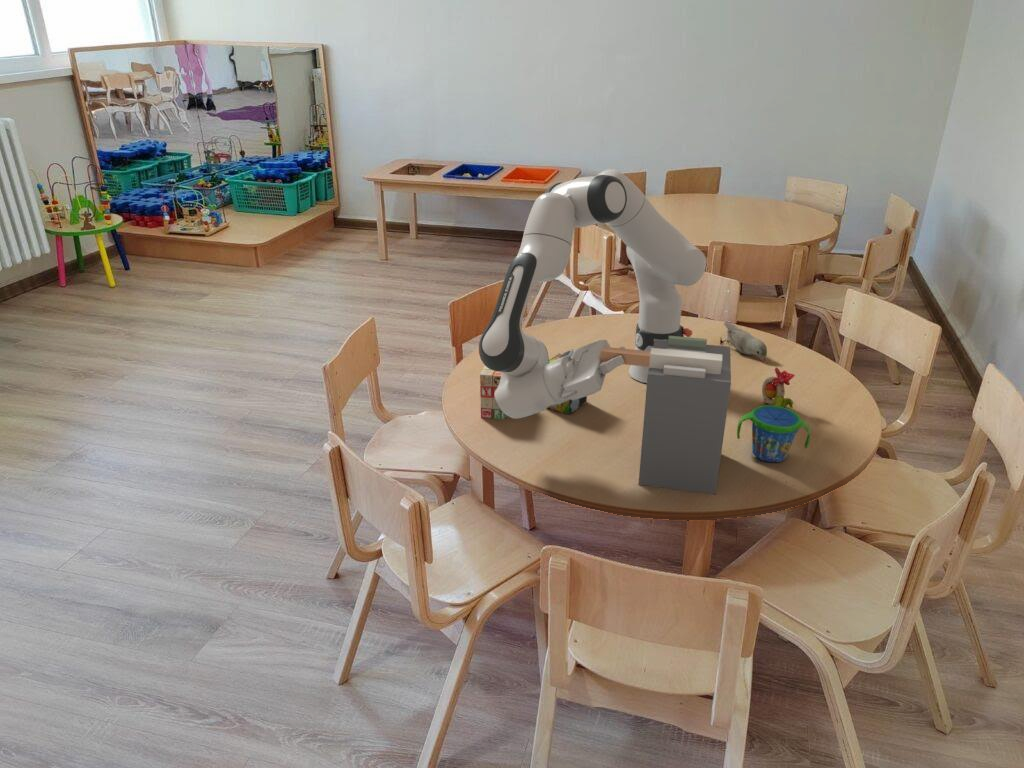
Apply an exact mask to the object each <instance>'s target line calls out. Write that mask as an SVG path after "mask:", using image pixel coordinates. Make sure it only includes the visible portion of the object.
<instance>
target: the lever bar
mask: <svg viewBox="0 0 1024 768" xmlns="http://www.w3.org/2000/svg"><path fill="white" fill-rule="evenodd" d="M619 354H622V355H623V357H624V359H625V361H624V364H623V365H627V366H631V365H636V366H646V367H649V368H658V369H664V365H672V366H682V367H693V368H703V369H706V372H705V373H708V374H719V375H721V367H722V354H712V353H701V352H691V351H680V350H669V349H658V348H651V351H642V350H635V349H631V348H625V349H621V348H620V347H619V348H618V347H611V346H610V347H602V349H601V353H600V360H601V362H607V361H609V360H611V359H612V358H614V356H616V355H619Z"/></svg>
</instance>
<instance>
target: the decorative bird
mask: <svg viewBox="0 0 1024 768" xmlns="http://www.w3.org/2000/svg"><path fill="white" fill-rule="evenodd" d="M723 325H724V326H725V328H726V329H727V332H726V339H724V340H723V339H722V337H720V336H719V337H720V339H719V340H720V341H719V343H720V344H719V346H724V345H725V342H726V345H727V344H728V345H729V344H730V345H731V346H732V347H733V348H734V349H735V350H736V351H738V352H739V353H742V354H745V355H748V356H752V355H755V356H756V357H758V359H759V360H760V361H761V362H762V361H764V362H765V360H766V357H767V353H768V350H767V349H768V348H767V345H766V343H765V342H763V341H762V340H761V339H759V338H756V337H754V336H753V335H752V334H751V333H749V332H748V331H746V330H743V329H742V328H739V327H737V326H736V325H735V324H734V323H731V322H729V321H727V320H726V321H724V323H723Z"/></svg>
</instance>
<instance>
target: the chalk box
mask: <svg viewBox="0 0 1024 768" xmlns="http://www.w3.org/2000/svg"><path fill="white" fill-rule="evenodd" d="M562 354H563V353H558V354H556V355H555V356H553V357H552V358H550V359H549V363H551V362H553V361H554V360H557V359H558V358H559V357H560V356H561V355H562ZM587 397H588V396H586V397H583V398H579V399H576V400H568V401H566V402H563V403H561V404H555V405H551V406H549V407H548V408H547V409H551V410H552V411H553V410H554V411H557V412H559V413H562V414H565V415H569V416H570V415H571V414H572V413H573V412H575V411H576V410H577V409H579V408H581V406H583V405H584V404H586V403H587V400H588V399H587Z"/></svg>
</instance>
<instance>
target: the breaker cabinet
mask: <svg viewBox="0 0 1024 768" xmlns="http://www.w3.org/2000/svg"><path fill="white" fill-rule="evenodd" d="M707 342H708V339H707V338H700V337H699V338H698V337H691V336H690V337H687V336H684V337H678V336H669V340H668V341H661V340H655V341H654V346H653V348H658V349H669V350H680V351H691V352H701V353H712V354H722V367H721V375H719V374H708V373H705V372H706V369H703V368H693V367H682V366H672V365H664V369H658V368H649V370H648V377H647V383H646V388H645V390H646V391H645V401H644V402H645V403H644V411H643V413H644V414H643V427H642V439H641V450H640V460H639V461H640V462H639V473H638V485H641V486H646V487H647V486H648V487H655V488H663V489H670V490H678V491H687V492H691V493H692V492H694V493H702V494H709V495H715V496H716V494H717V487H718V480H719V474H720V473H719V471H720V465H721V464H720V463H721V458H722V451H723V450H722V449H723V443H724V437H725V430H726V429H725V428H726V422H727V414H728V407H729V399H730V394H731V393H730V392H731V386H732V373H731V372H732V370H731V369H732V368H731V367H732V365H731V347H730V346H726V345H725V346H724V345H714V344H708V343H707Z"/></svg>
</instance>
